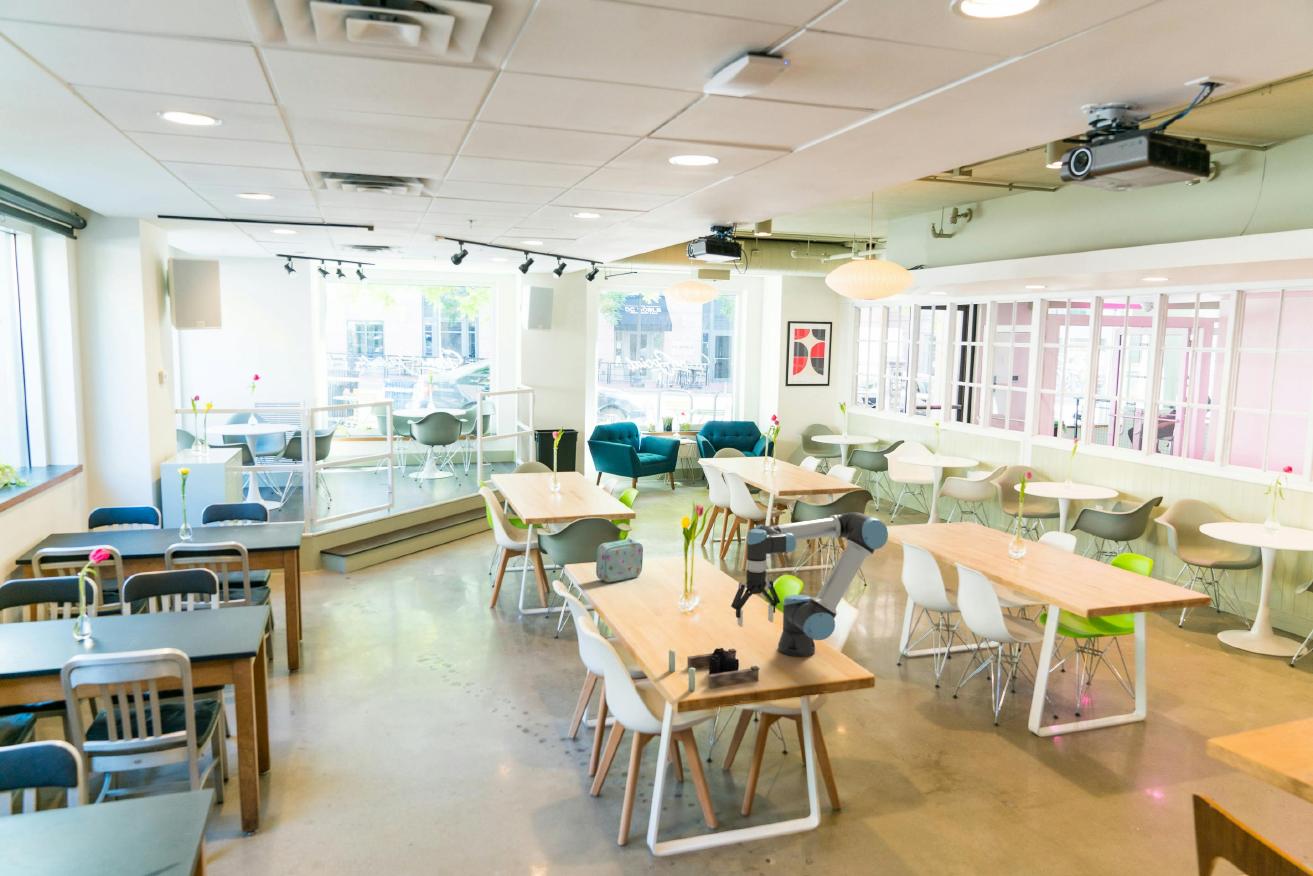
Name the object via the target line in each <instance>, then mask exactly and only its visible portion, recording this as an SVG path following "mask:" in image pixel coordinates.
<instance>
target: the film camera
mask: <svg viewBox="0 0 1313 876" xmlns="http://www.w3.org/2000/svg"><path fill="white" fill-rule="evenodd" d="M726 651H727V650H725V649H724V648H723V647H718V648H715V649H714V650H713V652H712V653H713V654H712V655H711V656H710V661H709V667H708V675H710V674H717V673H723V672H730V671H737V670H739V667H740V662H739V659H738V658H737V657H736V658H731V657H728V653H729V652H726Z"/></svg>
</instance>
